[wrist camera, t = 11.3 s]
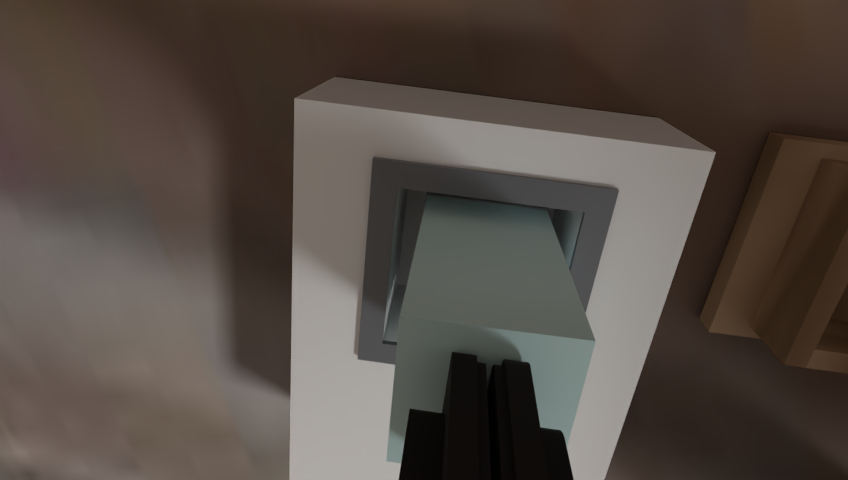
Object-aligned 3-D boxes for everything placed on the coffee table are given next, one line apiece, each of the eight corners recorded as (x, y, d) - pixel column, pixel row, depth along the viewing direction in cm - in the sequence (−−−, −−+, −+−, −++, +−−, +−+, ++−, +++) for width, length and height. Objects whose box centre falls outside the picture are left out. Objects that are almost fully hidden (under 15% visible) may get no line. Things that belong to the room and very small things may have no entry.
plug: (540, 186, 20) (599, 339, 11) (521, 282, 22) (558, 486, 12) (430, 173, 20) (397, 313, 11) (420, 270, 22) (384, 462, 13)
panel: (659, 118, 20) (719, 154, 15) (563, 447, 26) (584, 545, 21) (334, 76, 20) (292, 99, 15) (320, 411, 26) (287, 500, 22)
